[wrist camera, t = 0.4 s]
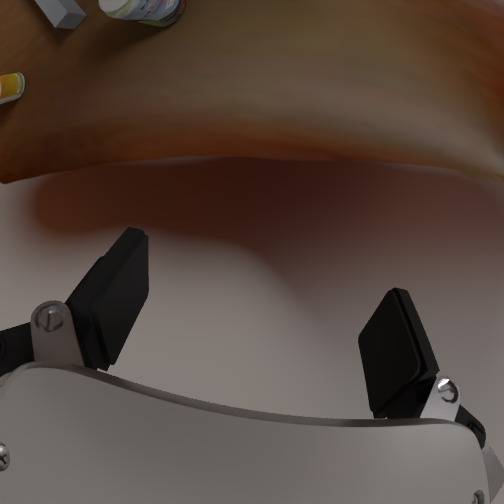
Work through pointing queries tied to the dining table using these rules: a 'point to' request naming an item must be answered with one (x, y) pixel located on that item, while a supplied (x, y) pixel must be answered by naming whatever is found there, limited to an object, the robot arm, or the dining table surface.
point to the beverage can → (145, 10)
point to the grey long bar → (62, 13)
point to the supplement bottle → (11, 87)
